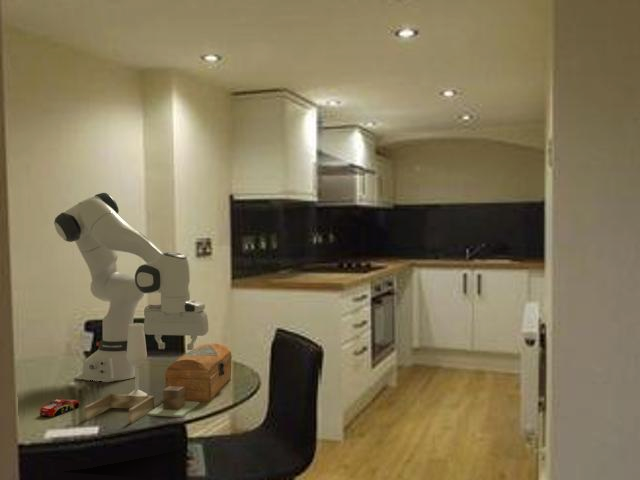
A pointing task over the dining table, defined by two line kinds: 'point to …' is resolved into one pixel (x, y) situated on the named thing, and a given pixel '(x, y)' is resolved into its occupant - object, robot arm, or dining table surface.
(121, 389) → the dining table surface
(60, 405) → the race car
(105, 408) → the birch u-shaped frame
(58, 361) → the dining table surface
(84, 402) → the dining table surface
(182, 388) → the walnut block
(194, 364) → the wooden box
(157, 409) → the felt mat
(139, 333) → the champagne flute
